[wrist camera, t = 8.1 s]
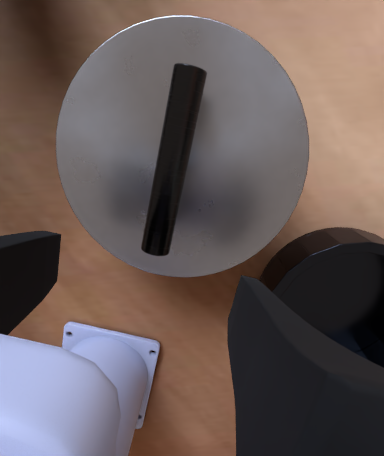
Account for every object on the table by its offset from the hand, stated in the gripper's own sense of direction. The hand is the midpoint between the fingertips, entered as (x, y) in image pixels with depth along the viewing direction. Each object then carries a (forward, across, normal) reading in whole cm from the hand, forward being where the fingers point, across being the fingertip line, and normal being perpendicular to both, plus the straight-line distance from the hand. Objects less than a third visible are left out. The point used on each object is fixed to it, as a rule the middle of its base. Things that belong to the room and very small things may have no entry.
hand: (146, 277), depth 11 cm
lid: (+5, 0, -4) cm, 6 cm away
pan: (+10, -13, +4) cm, 17 cm away
